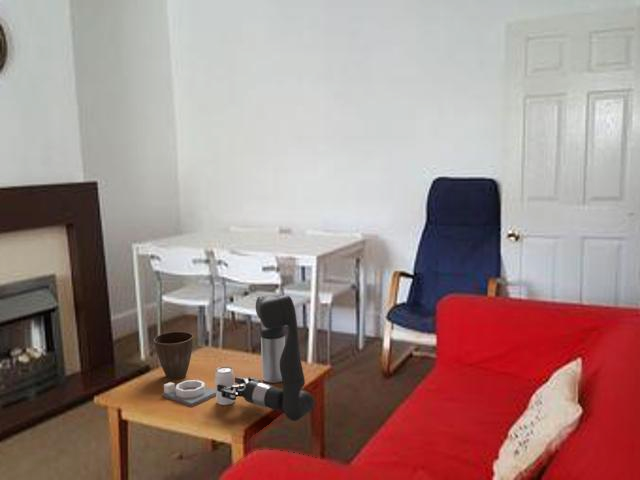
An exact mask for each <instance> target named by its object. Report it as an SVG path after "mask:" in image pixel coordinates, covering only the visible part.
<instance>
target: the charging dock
mask: <svg viewBox="0 0 640 480" xmlns="http://www.w3.org/2000/svg"><path fill="white" fill-rule="evenodd" d="M161 395H162V397H164V398H167V399H169V400H173V401H175V402H178V403H181V404H184V405H186V406H189V407H193V406H196V405H199V404H201V403H203V402H205V401H207V400H209V399H211V398H213V397H216V388H211V387H207V386H206V385H205V382H204V381H201V380H199V379H193V380H191V379H190V380H183V381H181V382H179V383H177V384H175V383H174V382H171V381H170V382H169V381H168V383H165V384H163V392H162V393H161Z"/></svg>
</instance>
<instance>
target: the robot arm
mask: <svg viewBox="0 0 640 480" xmlns="http://www.w3.org/2000/svg"><path fill="white" fill-rule="evenodd" d="M255 313H256V315H257V317H258V318H259V319H260V322H261V324H262V326H263V327H261V329H260V345H261V346H260V348H261V349H260V350H261V351H260V352H261V372H262V373H261V375H262V380H261V379H259V378H255V377H253V376H249V377H248V376H247V377H243V378H242V377H239V376H234V385H232V386H231V387H226V386H223V385H217V391H219V392H222V397H224V398H228V399H231V400H235V401H236V400H237V397H241V398H243V399H244V400H245V402H248V403H250V404H253V405H255V406H256V405H257V406H260V407H262V408H268V409H271V410H275V411H278V412H280V411H283V413H284V415H285V417H286V418H287V419H288V420H290V421H292V422H296V421H299V420H300V419H302V418H303V417H305V416H306V415H307V414H309V413H310V412H311V411H312V410H313V409H314V407H315V398H314V397H313V395H312V394H311V393H309V392H308V391H306V390H302V389H303V387H304V386H305V382H306V379H305V374H304V368H303V365H302V361H301V354H300V353H301V352H300V351H301V350H300V338H299V331H298V330H299V329H298V323H297V314H296V308H295V305H294V302H293V299H292V297H291V296H290V295H288V294H287V295H285V294H284V295H282V294H281V293H277V294H276V293H274V294H262V295H258V297H257V298H256V301H255ZM286 326H287V337H286V332H285V327H286ZM262 381H264V382H262ZM280 382H282V385H283V386H282V388H280V387H276V386H273V385H271V384H270V383H273V384H274V383H276V384H277V383H280ZM268 383H269V384H268ZM233 388H234V390H233ZM228 389H230V390H231V391H230V390H228Z"/></svg>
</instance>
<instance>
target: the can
mask: <svg viewBox="0 0 640 480" xmlns="http://www.w3.org/2000/svg"><path fill="white" fill-rule="evenodd" d="M215 371H216V372H215V374H214V377H215V378H214V379H215V384H214V385H215V390H216V396H215V398H216V404H218V405H219V406H229V405H232V404H234V403H235V401H236V400H231V399H228V398H224V397H222V392H219V391H217V385H223V386H226V387H231V386H232V385H235V376H234V375H235V374H234V371H233V368H232V367H230V366H220V367H217V368H216V370H215ZM228 390H230V389H228ZM233 390H234V391H235V388H233ZM230 391H231V390H230Z"/></svg>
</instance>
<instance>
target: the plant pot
mask: <svg viewBox="0 0 640 480" xmlns="http://www.w3.org/2000/svg"><path fill="white" fill-rule="evenodd" d="M193 341H194V335H193V333H190V332H187V331H171V332H166V333H163V334H162V333H161V334H159V335H157V336H155V337H154V339H153V342H154V346H155V351H156V354H157V357H158V360H159V363H160V366H161V368H162V371H163V372H164V374H165V376H166V378H167V379H168V380H171V381H172V380H173V381H174V380H175V381H176V380H181V379H183V378H185V377H186V375H187V374H188V371H189V366H190V362H191V357H192V351H193Z"/></svg>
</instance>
